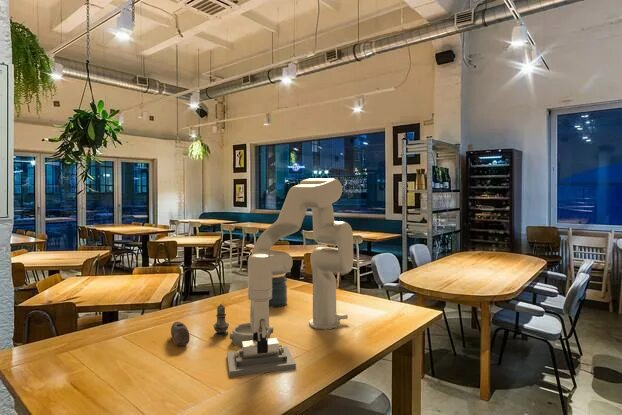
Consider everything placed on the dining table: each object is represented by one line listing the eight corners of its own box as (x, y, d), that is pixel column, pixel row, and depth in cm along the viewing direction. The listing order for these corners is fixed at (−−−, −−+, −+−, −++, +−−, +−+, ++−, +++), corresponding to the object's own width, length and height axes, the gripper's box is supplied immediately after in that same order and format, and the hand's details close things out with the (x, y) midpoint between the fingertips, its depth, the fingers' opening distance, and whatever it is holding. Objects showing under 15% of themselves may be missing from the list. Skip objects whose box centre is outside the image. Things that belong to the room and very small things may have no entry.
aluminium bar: (242, 356, 125) (242, 341, 125) (276, 352, 128) (276, 337, 128) (243, 362, 121) (243, 347, 120) (278, 358, 124) (278, 343, 124)
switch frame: (286, 350, 134) (286, 338, 134) (296, 368, 120) (296, 355, 120) (227, 356, 129) (226, 344, 128) (229, 376, 115) (229, 362, 115)
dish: (276, 336, 147) (276, 323, 146) (259, 351, 134) (259, 336, 133) (242, 332, 151) (242, 319, 151) (222, 345, 138) (222, 331, 138)
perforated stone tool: (168, 335, 147) (168, 317, 147) (182, 333, 150) (182, 315, 149) (174, 350, 134) (174, 330, 134) (190, 347, 136) (190, 327, 136)
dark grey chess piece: (225, 337, 145) (225, 305, 144) (210, 336, 146) (210, 304, 146) (231, 332, 151) (231, 301, 150) (217, 330, 152) (217, 300, 151)
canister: (286, 307, 182) (286, 270, 181) (258, 307, 182) (258, 270, 181) (288, 299, 195) (288, 264, 194) (262, 299, 195) (261, 264, 194)
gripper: (245, 287, 131) (245, 337, 132) (251, 302, 114) (251, 359, 115) (267, 286, 133) (267, 335, 133) (276, 300, 116) (276, 356, 117)
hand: (260, 346), depth 124 cm, fingers open, 9 cm apart
